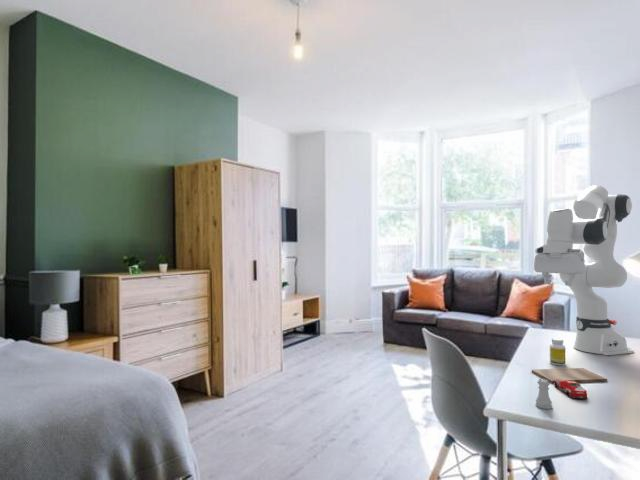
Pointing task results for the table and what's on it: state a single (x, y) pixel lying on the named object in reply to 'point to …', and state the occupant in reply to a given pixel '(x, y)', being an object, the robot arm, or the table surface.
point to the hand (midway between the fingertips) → (557, 285)
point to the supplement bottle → (557, 352)
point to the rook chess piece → (543, 395)
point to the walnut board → (569, 375)
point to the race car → (571, 389)
